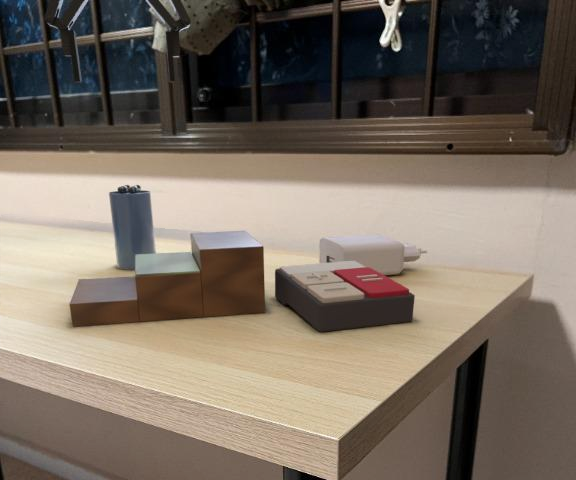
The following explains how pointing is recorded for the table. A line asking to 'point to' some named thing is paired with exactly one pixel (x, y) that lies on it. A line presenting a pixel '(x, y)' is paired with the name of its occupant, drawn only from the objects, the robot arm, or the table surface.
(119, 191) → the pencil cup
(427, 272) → the table surface
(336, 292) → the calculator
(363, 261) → the charger
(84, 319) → the step shelf
